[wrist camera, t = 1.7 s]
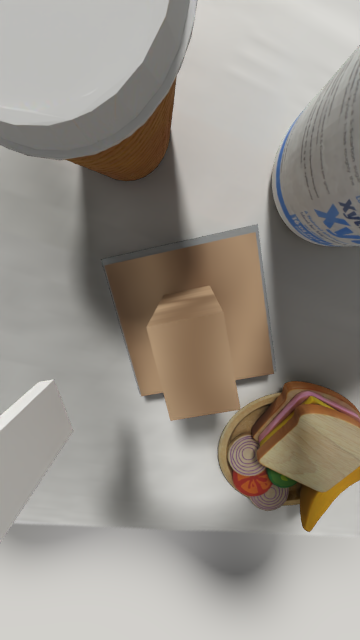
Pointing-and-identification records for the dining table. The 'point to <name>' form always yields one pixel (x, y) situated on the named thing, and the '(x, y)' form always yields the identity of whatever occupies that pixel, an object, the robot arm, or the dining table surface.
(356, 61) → the supplement tub
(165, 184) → the dining table surface
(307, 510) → the toy sandwich meal
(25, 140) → the disposable coffee cup
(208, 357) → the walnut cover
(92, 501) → the dining table surface
